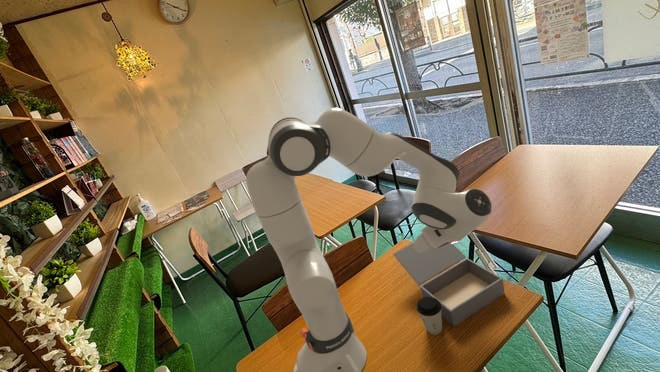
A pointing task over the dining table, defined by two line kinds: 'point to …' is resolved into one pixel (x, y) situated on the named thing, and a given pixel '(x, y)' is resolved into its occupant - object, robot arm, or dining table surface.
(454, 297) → the mailer box
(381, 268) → the dining table surface
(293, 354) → the dining table surface
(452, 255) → the mailer lid
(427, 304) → the coffee cup
